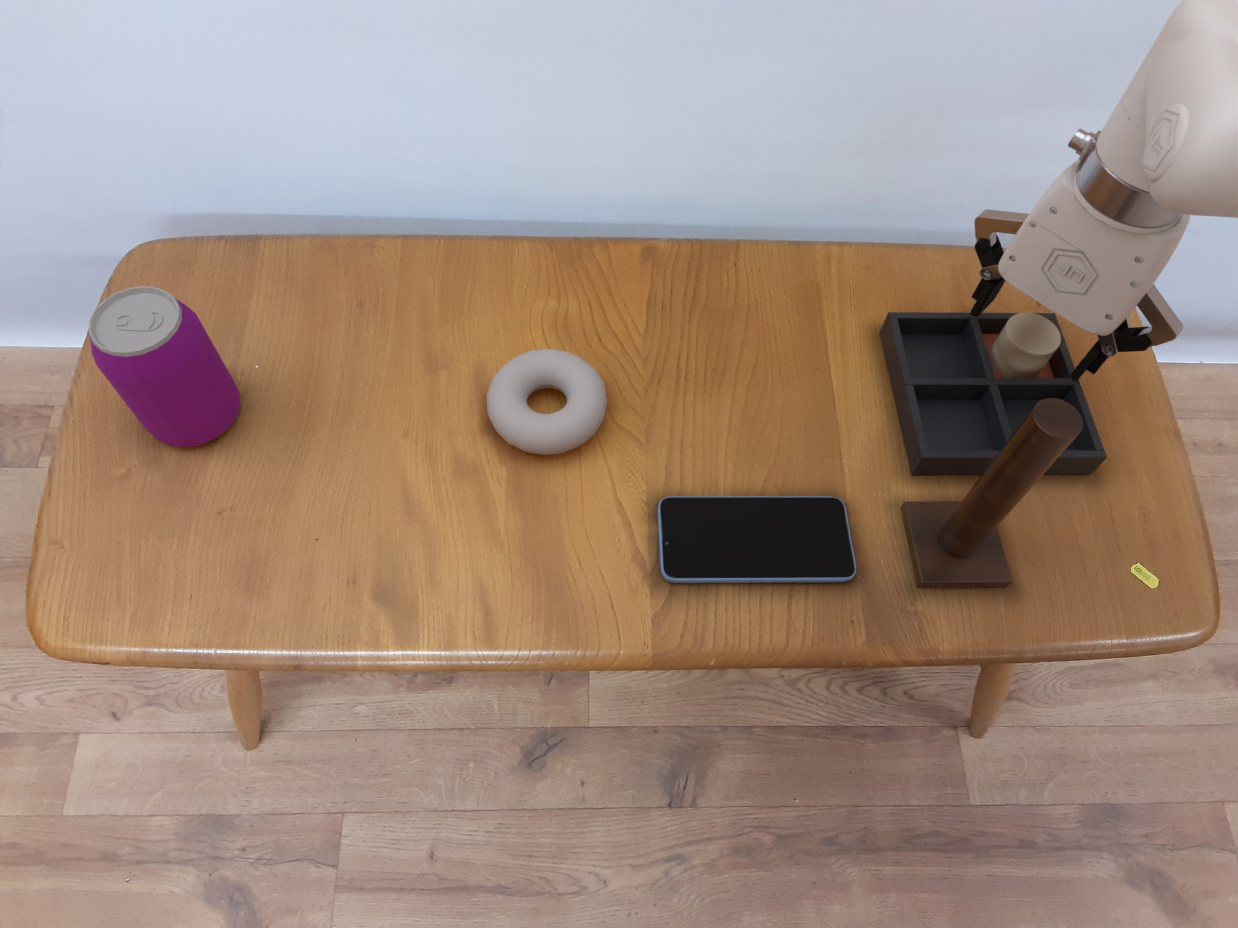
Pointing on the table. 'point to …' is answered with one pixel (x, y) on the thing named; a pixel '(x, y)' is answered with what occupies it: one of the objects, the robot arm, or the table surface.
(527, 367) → the donut
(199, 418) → the beverage can
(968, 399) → the grid
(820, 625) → the table surface
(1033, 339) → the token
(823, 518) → the smartphone
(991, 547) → the stand
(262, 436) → the table surface
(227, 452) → the table surface
